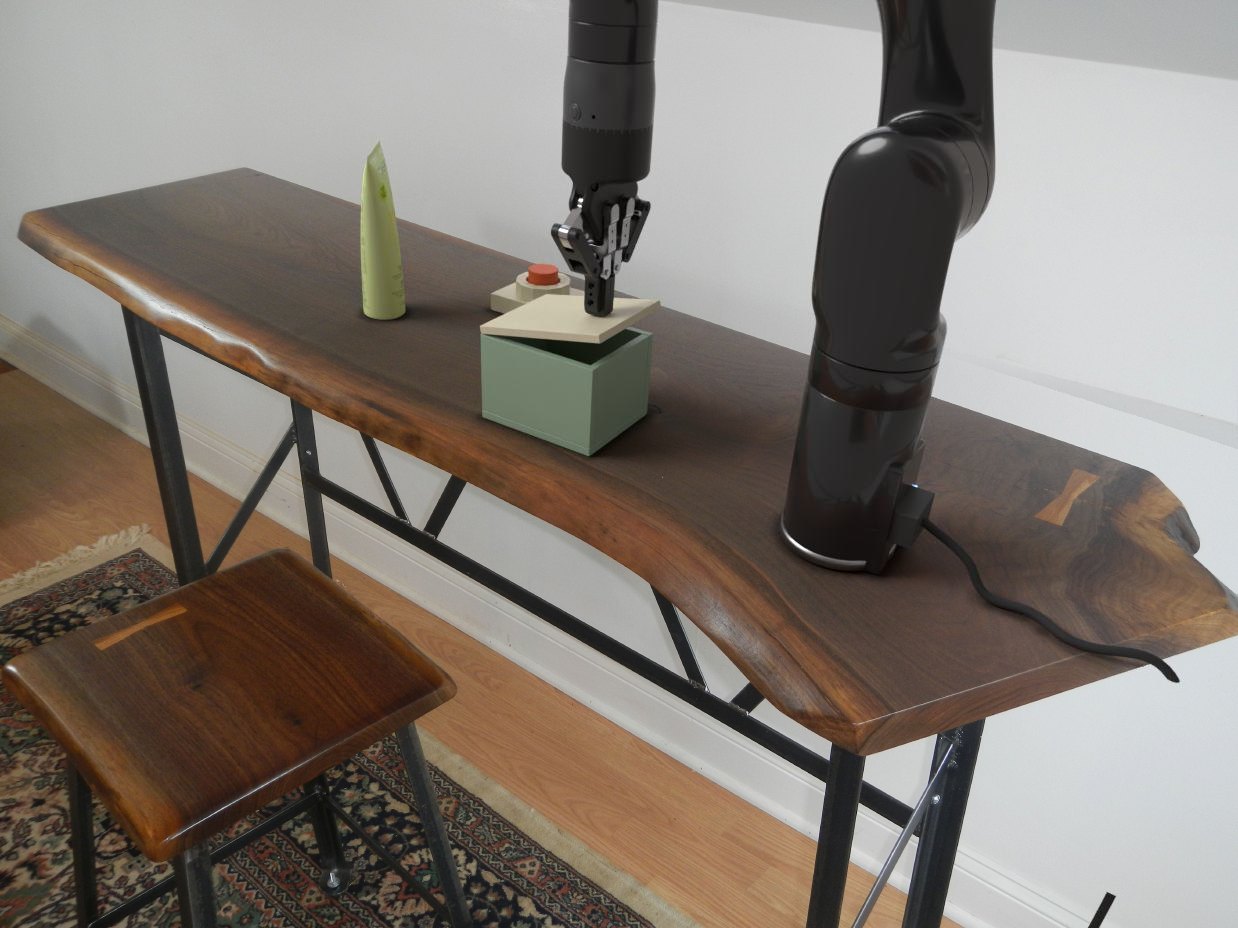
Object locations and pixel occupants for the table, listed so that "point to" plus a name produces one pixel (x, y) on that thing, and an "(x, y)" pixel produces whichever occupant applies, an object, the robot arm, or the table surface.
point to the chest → (567, 386)
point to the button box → (529, 292)
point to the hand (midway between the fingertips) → (598, 313)
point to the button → (543, 274)
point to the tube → (380, 243)
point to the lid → (569, 319)
